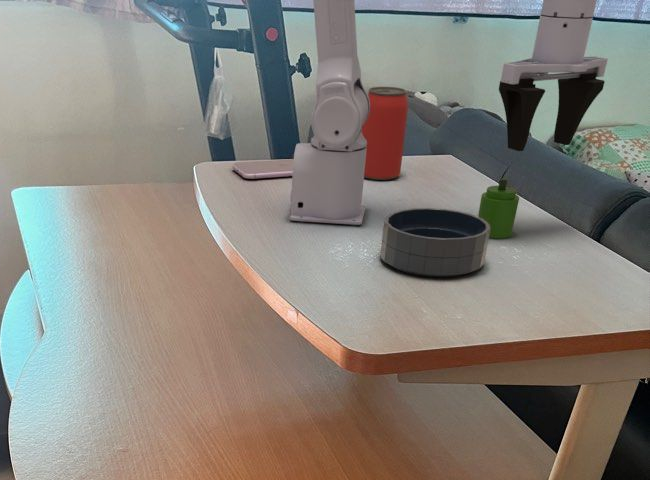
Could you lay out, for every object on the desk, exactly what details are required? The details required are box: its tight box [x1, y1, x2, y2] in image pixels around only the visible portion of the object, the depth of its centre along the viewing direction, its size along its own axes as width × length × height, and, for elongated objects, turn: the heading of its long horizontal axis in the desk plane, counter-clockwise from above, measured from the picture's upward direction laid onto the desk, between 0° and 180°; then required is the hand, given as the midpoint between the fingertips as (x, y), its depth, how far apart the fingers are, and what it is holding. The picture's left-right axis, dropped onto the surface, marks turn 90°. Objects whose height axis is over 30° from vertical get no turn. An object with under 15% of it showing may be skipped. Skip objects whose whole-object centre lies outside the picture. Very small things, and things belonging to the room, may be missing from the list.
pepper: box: [477, 177, 520, 240], centre depth 105 cm, size 5×5×7 cm
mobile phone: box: [232, 158, 294, 180], centre depth 130 cm, size 8×1×15 cm
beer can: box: [361, 86, 409, 181], centre depth 126 cm, size 7×7×12 cm
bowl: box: [379, 207, 490, 278], centre depth 97 cm, size 12×12×4 cm
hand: (538, 146), depth 102 cm, fingers open, 7 cm apart
